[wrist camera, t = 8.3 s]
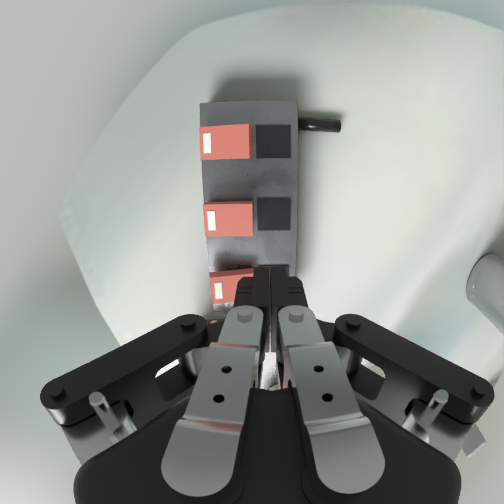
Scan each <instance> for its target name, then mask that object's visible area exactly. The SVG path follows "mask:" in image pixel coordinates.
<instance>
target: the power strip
mask: <svg viewBox="0 0 504 504" xmlns="http://www.w3.org/2000/svg"><path fill="white" fill-rule="evenodd" d="M236 124H251V125H252V154H253V158H250V159H216V160H202V178H203V196H204V203H206V202H225V201H253V222H254V233H253V236H206V238H207V250H208V261H209V272H219V271H229V270H239V269H248V268H253V270H254V267H269V281H270V267H285V268H286V274H287V277H288V276H295V271H296V248H297V216H298V130H303V131H323V132H337V133H339V132H340V130H341V122H340V120H331V119H317V118H298V108H297V101H287V100H248V101H225V102H211V103H200V127H209V126H221V125H236ZM233 305H234V302H228V303H219V304H213V311H230V310H231V309H232V308H233Z"/></svg>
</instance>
